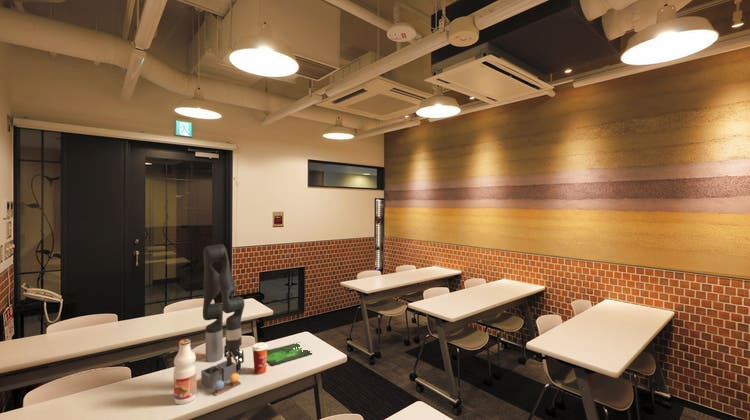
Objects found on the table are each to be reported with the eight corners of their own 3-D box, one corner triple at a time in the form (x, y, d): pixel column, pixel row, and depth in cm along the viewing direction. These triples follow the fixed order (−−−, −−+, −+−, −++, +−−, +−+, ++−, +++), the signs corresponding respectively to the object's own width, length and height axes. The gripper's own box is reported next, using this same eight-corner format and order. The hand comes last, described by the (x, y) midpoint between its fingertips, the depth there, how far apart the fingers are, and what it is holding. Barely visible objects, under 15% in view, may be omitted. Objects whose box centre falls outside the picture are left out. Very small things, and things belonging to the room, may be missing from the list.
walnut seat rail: (212, 393, 159) (212, 390, 159) (237, 382, 169) (237, 378, 169) (215, 396, 157) (215, 392, 157) (240, 384, 168) (240, 380, 168)
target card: (212, 387, 164) (211, 387, 164) (234, 377, 174) (234, 377, 174) (216, 390, 162) (216, 389, 162) (238, 379, 172) (238, 379, 172)
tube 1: (201, 384, 167) (201, 370, 167) (215, 378, 173) (214, 365, 173) (208, 389, 163) (208, 375, 163) (222, 382, 169) (222, 369, 169)
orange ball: (228, 382, 166) (227, 374, 166) (236, 379, 170) (235, 370, 169) (232, 385, 163) (232, 376, 163) (240, 381, 167) (240, 373, 167)
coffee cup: (263, 376, 175) (262, 348, 175) (249, 374, 177) (249, 347, 177) (271, 368, 183) (270, 342, 183) (257, 367, 185) (257, 341, 185)
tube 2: (216, 377, 174) (216, 364, 174) (229, 372, 180) (229, 359, 180) (223, 382, 170) (223, 368, 169) (236, 376, 175) (236, 363, 175)
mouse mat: (300, 342, 219) (300, 340, 219) (314, 354, 201) (314, 352, 201) (259, 353, 203) (259, 351, 203) (270, 367, 185) (270, 365, 185)
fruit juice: (199, 398, 155) (199, 340, 155) (178, 407, 148) (177, 347, 148) (192, 390, 161) (191, 335, 161) (171, 399, 154) (170, 341, 154)
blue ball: (212, 389, 160) (212, 381, 159) (221, 385, 163) (221, 377, 163) (217, 393, 157) (217, 384, 157) (225, 388, 160) (225, 380, 160)
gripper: (219, 336, 167) (219, 367, 167) (234, 342, 159) (234, 375, 159) (232, 331, 173) (233, 361, 173) (248, 337, 165) (248, 369, 165)
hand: (233, 368), depth 166 cm, fingers open, 8 cm apart
